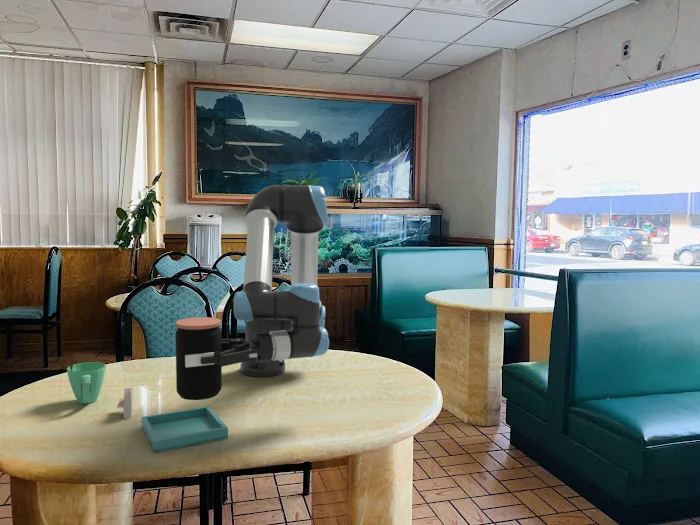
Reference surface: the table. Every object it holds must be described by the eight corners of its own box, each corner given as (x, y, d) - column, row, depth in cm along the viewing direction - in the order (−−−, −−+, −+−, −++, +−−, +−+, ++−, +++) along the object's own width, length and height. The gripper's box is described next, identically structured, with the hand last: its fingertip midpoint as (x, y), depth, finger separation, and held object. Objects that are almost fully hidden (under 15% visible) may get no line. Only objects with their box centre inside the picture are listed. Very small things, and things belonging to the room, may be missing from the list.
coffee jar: (229, 389, 141) (229, 318, 139) (206, 403, 131) (205, 327, 129) (192, 384, 144) (191, 315, 142) (167, 398, 134) (166, 323, 132)
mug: (68, 397, 162) (67, 364, 161) (105, 393, 166) (104, 360, 165) (67, 415, 149) (65, 378, 148) (107, 409, 153) (106, 374, 152)
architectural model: (117, 420, 147) (116, 393, 146) (120, 411, 153) (119, 385, 153) (131, 419, 148) (130, 392, 147) (133, 410, 154) (133, 384, 154)
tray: (141, 426, 142) (141, 416, 141) (208, 415, 150) (208, 405, 150) (154, 452, 127) (154, 441, 127) (228, 438, 135) (227, 427, 135)
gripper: (284, 372, 134) (190, 384, 125) (257, 350, 155) (174, 358, 145) (284, 342, 134) (189, 351, 124) (256, 323, 154) (173, 330, 145)
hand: (181, 355), depth 135 cm, fingers closed on coffee jar, 11 cm apart
